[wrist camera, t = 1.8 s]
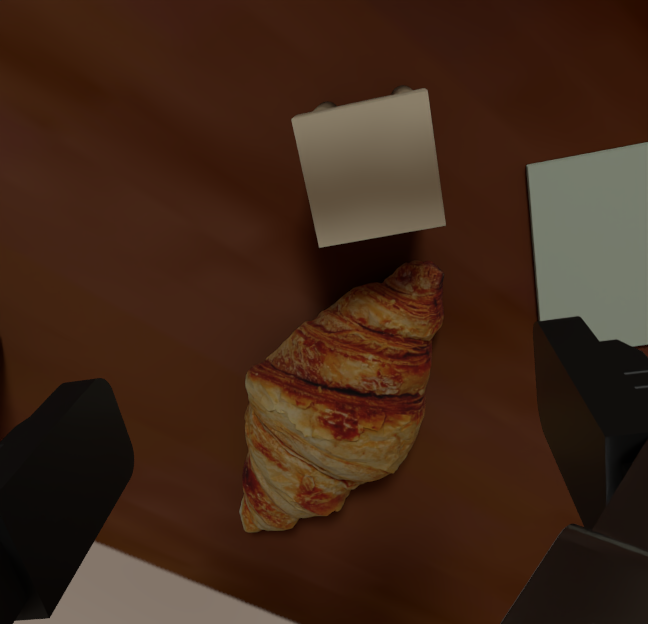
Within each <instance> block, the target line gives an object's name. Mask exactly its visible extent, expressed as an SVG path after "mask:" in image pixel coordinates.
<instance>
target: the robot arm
mask: <svg viewBox="0 0 648 624" xmlns="http://www.w3.org/2000/svg"><path fill="white" fill-rule="evenodd" d="M533 341H534V357H535V373H536V388H537V403H538V410H539V416H540V421H541V425H542V429H543V432H544V435H545V437H546V440H547V442H548V444H549V447H550V449H551V451H552V453H553V456H554V458H555V460H556V463H557V465H558V467H559V470H560V472H561V474H562V476H563V479H564V481H565V483H566V486H567V488H568V490H569V493H570V495H571V497H572V499H573V502H574V504H575V506H576V509H577V511H578V513H579V516H580V518H581V520H582V522H583V525H584V527H582V526H579V525H576V524H570V525H568V526H567V527H565V528H564V529H563V530H562V532H561V533H560V534H559V536H558V537H557V539H556V540H555V542H554V543H553V545H552V546H551V548H550V549H549V551H548V552H547V554H546V555H545V557H544V558H543V560H542V561H541V563H540V564H539V566H538V567H537V569H536V570H535V572H534V574H533V575H532V577H531V578H530V580H529V581H528V583H527V584H526V586H525V587H524V589H523V590H522V592H521V593H520V595H519V596H518V598H517V599H516V601H515V602H514V604H513V605H512V607H511V608H510V610H509V611H508V613H507V615H506V616H505V618H504V619H503V621H502V622H501V624H648V358H647V356H646V355H645V354H644V353H643V352H642V351H640V350H638V349H636V348H634V347H632V346H630V345H628V344H626V343H624V342H622V341H620V340H617V339H615V340H607V341H599V340H598V339H597V337H596V336H595V335H594V333H593V332H592V331H591V329H590V328H589V327H588V326H587V324H586V323H585V322H584V320H583V319H582V318H581V317H580V316H575V317H567V318H560V319H552V320H545V321H537V322H535V323H534V327H533ZM133 467H134V452H133V447H132V444H131V441H130V438H129V435H128V432H127V430H126V427H125V424H124V421H123V418H122V416H121V413H120V410H119V407H118V404H117V402H116V399H115V396H114V393H113V391H112V388H111V386H110V385H109V383H108V382H107V381H106V380H105V379H102V378H97V379H90V380H82V381H75V382H67V383H63V384H61V385H60V386H59V387H58V388H57V389H56V390H55V391H54V392H53V393H52V394H51V395H50V396H49V397H48V398H47V399H46V400H45V402H44V403H43V404H42V405H41V406H40V407H39V408H38V409H37V410H36V411H35V412H34V413H33V414H32V415H31V416H30V417H29V418H28V419H26V420H25V421H23V422H22V423H20V424H19V425H17V426H16V427H14V428H13V429H12V430H11V432H10V433H9V434H8V435H7V436H6V437H5V438H4V439H3V440H2V441H1V442H0V624H13V623H14V621H16V620H31V619H45V618H50V616H51V615H52V613H53V611H54V609H55V608H56V606H57V604H58V603H59V601H60V599H61V597H62V596H63V594H64V592H65V590H66V589H67V587H68V585H69V583H70V582H71V580H72V578H73V577H74V575H75V573H76V571H77V570H78V568H79V566H80V565H81V563H82V561H83V559H84V558H85V556H86V554H87V553H88V551H89V549H90V547H91V546H92V544H93V542H94V540H95V539H96V537H97V535H98V534H99V532H100V530H101V528H102V527H103V525H104V523H105V521H106V520H107V518H108V516H109V515H110V513H111V511H112V509H113V508H114V506H115V504H116V502H117V501H118V499H119V497H120V496H121V494H122V492H123V490H124V489H125V487H126V485H127V483H128V482H129V480H130V478H131V476H132V473H133Z"/></svg>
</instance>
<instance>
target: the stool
mask: <svg viewBox="0 0 648 624" xmlns="http://www.w3.org/2000/svg"><path fill="white" fill-rule="evenodd" d="M291 120H292V125H293V129H294V134H295V138H296V143H297V148H298V152H299V157H300V161H301V166H302V171H303V175H304V180H305V184H306V189H307V194H308V198H309V203H310V208H311V212H312V217H313V221H314V226H315V231H316V235H317V240H318V244H319V248H321V247H327V246H333V245H338V244H344V243H349V242H355V241H361V240H366V239H372V238H378V237H383V236H389V235H395V234H400V233H406V232H412V231H417V230H423V229H428V228H434V227H440V226H445V225H446V224H445V216H444V209H443V201H442V194H441V187H440V179H439V172H438V164H437V157H436V149H435V142H434V135H433V127H432V120H431V112H430V105H429V98H428V91H427V90H426V89H425V88H423V89H418V90H412V89H411V88H410V87H408V86H404V85H402V86H399V87H397V88H395V89H394V90H393V92H392V94H391V95H389V96H385V97H380V98H375V99H370V100H366V101H361V102H356V103H351V104H347V105H342V106H336V105H335V104H334V103H332V102H323V103H321V104H320V105H319V106H318V107H317V108H316V109H315V110H314V111H313V112H309V113H304V114H299V115H296V116H295V117H293V118H292V119H291Z"/></svg>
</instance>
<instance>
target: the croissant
mask: <svg viewBox="0 0 648 624" xmlns="http://www.w3.org/2000/svg"><path fill="white" fill-rule="evenodd" d="M443 278H444V273H443V272H442V271H441V270H440V269H439V268H438V266H436V265H435V264H434V263H433V262H432V261H425V262H421V261H419V260H414V261H412V262H410V263H404V264H403V265H401V266H400V267H398V268H397V269H396V271H395V272H394V273H393V274H392V275H390V276H389V277H388V278H386V279H385V280H384V282H383V283H377V282H375V283H369V284H366V285H362V286H358V287H355V288H353V289H352V290H350V291H349V292H348V293H346V294H345V295H344V296H342V297H341V298H340V299H339V300H338V301H337V302H336V303H334V304H333V305H332V306H330V307H329V308H327V309H326V310H323V311H321V312H320V313H319V315H318V316H317V317H316V319H314V320H312V321H305V322H304V323H303V324H302V325H301V326H299V327H298V328H297V329H296V330H295V331H294V332H293V333H292V334H291V336H290V337H289V338H288V339H287V340H285V341H284V342H283V343H282V345H281V346H280V347H279V348H278V349H277V350H275V351H274V352H273V353H272V354H271V355H269V356H268V357H267V358H266V361H265V362H263V363H259V364H258V365H254V366H253V367H252V368H251V369H250V370H249V371H248V372H247V374H246V381H245V385H246V389H247V392H248V396H249V397H248V398H249V404H248V407H247V410H246V412H245V420H246V423H245V436H246V442H247V445H248V448H249V451H248V454H247V457H246V460H245V463H244V469H243V491H244V497H243V499H242V502H241V508H240V511H239V512H240V516H241V519H242V523H243V527H244V530H245V531H246V532H259V531H261V530H267V531H270V530H272V531H283V530H287V529H291V528H293V527H294V526H295V524H296V523H297V521H298V520H299V518H309V517H313V516H328V515H329V514H331V512H333V511H336V512H337V511H340V510H341V508H342V506H343V505H344V502H345V499H346V497H348V495H349V493H350V491H351V490H353V489H355V488H356V487H358V486H359V485H360V484H364V483H365V482H371V481H375V480H379V479H381V478H383V477H385V476H387V475H388V474H390V473H394V472H395V471H396V470H398V467H399V465H400V464H401V463H402V462H403V460H404V459H405V458H406V457H407V454H408V452H409V450H410V449H411V448H412V446H413V444H414V442H415V440H416V438H417V435H418V432H419V428H420V424H421V422H422V419H423V417H424V413H425V406H426V390H425V389H426V385H427V382H428V380H429V376H430V368H431V363H432V338H433V336H434V335H435V333H436V332H437V331H438V330H439V329H440V327H441V326H442V322H443V318H444V311H443V302H442V295H443Z"/></svg>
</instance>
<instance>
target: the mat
mask: <svg viewBox="0 0 648 624" xmlns="http://www.w3.org/2000/svg"><path fill="white" fill-rule="evenodd" d="M526 171H527V183H528V195H529V208H530V220H531V232H532V244H533V257H534V269H535V281H536V293H537V306H538V318H539V321H545V320H552V319H560V318H567V317H575V316H580V317H581V318H582V319H583V320H584V322H585V323H586V324H587V326H588V327H589V328H590V329H591V331H592V332H593V333H594V335H595V336H596V337H597V339H598V340H599V341H607V340H615V339H617V340H620V341H622V342H624V343H626V344H628V345H630V346H632V347H633V346H640V345H647V344H648V142H646V143H641V144H635V145H630V146H625V147H619V148H614V149H609V150H604V151H598V152H593V153H588V154H582V155H577V156H572V157H566V158H561V159H556V160H550V161H545V162H540V163H534V164H529V165H526Z"/></svg>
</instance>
